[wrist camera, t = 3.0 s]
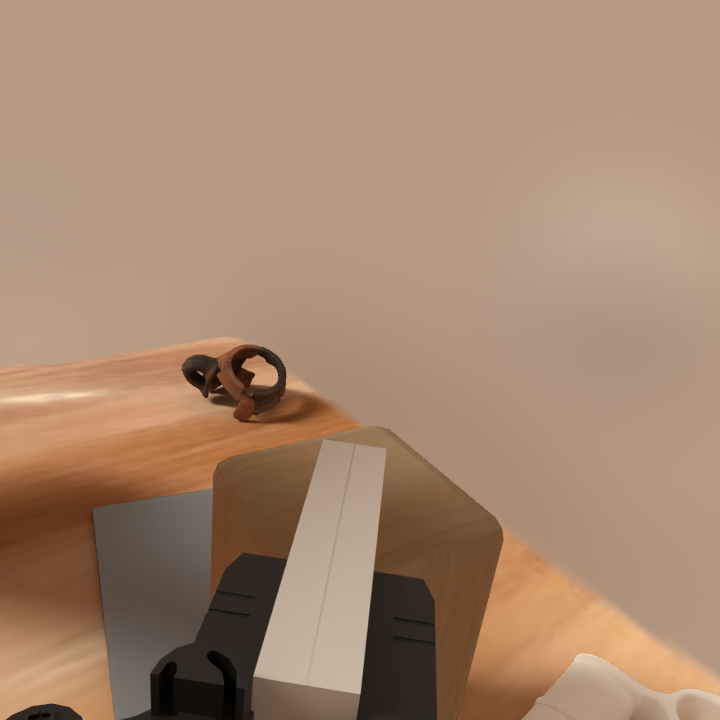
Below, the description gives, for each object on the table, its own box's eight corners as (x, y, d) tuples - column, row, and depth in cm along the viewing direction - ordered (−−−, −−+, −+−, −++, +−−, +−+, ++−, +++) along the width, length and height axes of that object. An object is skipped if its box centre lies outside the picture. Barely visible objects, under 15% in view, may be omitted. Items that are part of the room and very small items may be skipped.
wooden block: (199, 745, 36) (205, 452, 29) (344, 677, 42) (384, 414, 34) (274, 929, 29) (310, 602, 21) (439, 817, 34) (518, 523, 26)
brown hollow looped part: (270, 384, 81) (293, 345, 76) (268, 447, 75) (293, 410, 70) (177, 363, 77) (194, 320, 71) (167, 427, 71) (185, 386, 65)
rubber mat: (92, 511, 54) (92, 507, 54) (346, 471, 64) (346, 467, 64) (115, 726, 37) (115, 721, 37) (456, 625, 47) (457, 621, 47)
